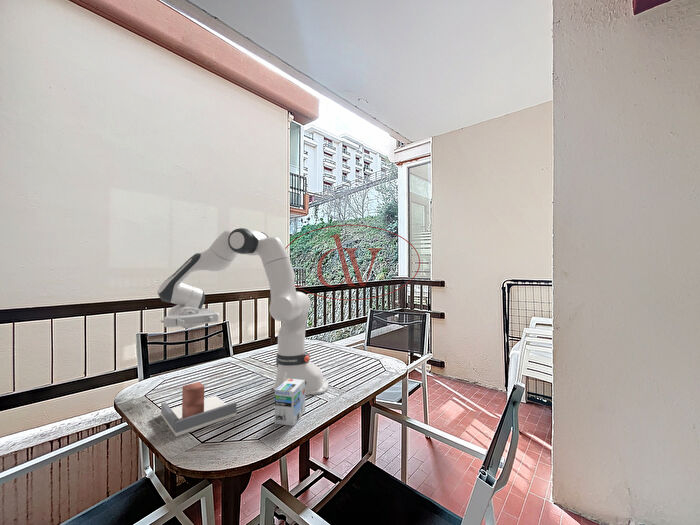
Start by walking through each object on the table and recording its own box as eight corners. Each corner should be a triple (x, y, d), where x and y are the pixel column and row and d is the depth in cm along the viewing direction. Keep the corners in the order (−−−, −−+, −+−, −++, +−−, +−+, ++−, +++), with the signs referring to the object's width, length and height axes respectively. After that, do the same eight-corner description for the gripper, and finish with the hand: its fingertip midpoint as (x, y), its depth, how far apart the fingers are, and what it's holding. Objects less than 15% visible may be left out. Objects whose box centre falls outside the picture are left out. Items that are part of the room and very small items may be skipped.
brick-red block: (198, 412, 100) (199, 381, 100) (203, 417, 96) (204, 386, 96) (182, 417, 96) (182, 385, 96) (186, 422, 93) (187, 390, 93)
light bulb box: (293, 426, 92) (294, 391, 93) (273, 424, 94) (273, 389, 94) (305, 410, 103) (305, 379, 103) (287, 408, 104) (287, 377, 104)
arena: (216, 398, 112) (216, 387, 112) (236, 415, 99) (236, 403, 100) (160, 414, 100) (160, 402, 100) (175, 436, 87) (176, 422, 87)
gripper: (159, 312, 120) (168, 316, 110) (212, 308, 135) (224, 311, 125) (159, 328, 120) (168, 333, 110) (212, 322, 134) (224, 326, 125)
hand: (198, 321), depth 118 cm, fingers open, 8 cm apart
